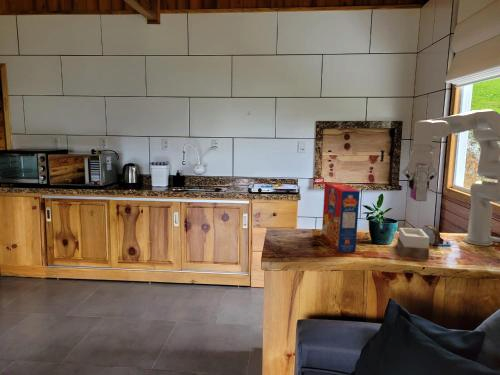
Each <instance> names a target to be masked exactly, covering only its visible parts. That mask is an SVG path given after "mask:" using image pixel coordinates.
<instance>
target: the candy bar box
mask: <svg viewBox="0 0 500 375" xmlns="http://www.w3.org/2000/svg"><path fill="white" fill-rule="evenodd" d="M428 174H429V164H416V168H415V174H414V176H413V178H412V180H413V185H412V189H410V193H409V195H410V198H412V200H414V201H415V202H427V197H428V196H427V195H428V188H427V186H428Z"/></svg>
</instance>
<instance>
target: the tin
mask: <svg viewBox="0 0 500 375" xmlns="http://www.w3.org/2000/svg"><path fill="white" fill-rule="evenodd" d="M422 230H423V231H424V232H425V233H426V234H427V236H428V237H429V245H431V246H439V245H440V244H441V233H440V231H439V229H438V228H437V227H435V226H433V225H431V224H428V225H424V226H423V227H422Z"/></svg>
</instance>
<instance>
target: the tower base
mask: <svg viewBox="0 0 500 375" xmlns="http://www.w3.org/2000/svg"><path fill="white" fill-rule="evenodd" d="M396 246H397V252H398V256H401V257H409V258H416V259H423V260H424V259H427V260H428V259H429V258H430V256H429V255H430V249H426V248H413V247H404V246H403V244H402V242H401V241H400V239H399V238H398V237H397V241H396Z"/></svg>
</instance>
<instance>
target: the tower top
mask: <svg viewBox="0 0 500 375" xmlns="http://www.w3.org/2000/svg"><path fill="white" fill-rule="evenodd" d="M398 238H399V239H400V241H401V242H402V244H403V246H404V247H413V248H426V249H429V246H430V243H429V237H428V236H427V234H426V233H425V232H424V231H423V228H409V227H399V228H398V236H397V239H398ZM429 250H430V249H429Z"/></svg>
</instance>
